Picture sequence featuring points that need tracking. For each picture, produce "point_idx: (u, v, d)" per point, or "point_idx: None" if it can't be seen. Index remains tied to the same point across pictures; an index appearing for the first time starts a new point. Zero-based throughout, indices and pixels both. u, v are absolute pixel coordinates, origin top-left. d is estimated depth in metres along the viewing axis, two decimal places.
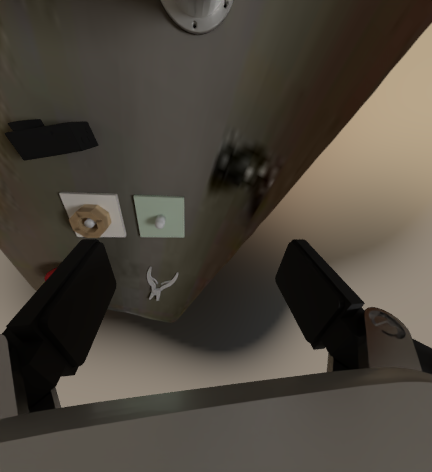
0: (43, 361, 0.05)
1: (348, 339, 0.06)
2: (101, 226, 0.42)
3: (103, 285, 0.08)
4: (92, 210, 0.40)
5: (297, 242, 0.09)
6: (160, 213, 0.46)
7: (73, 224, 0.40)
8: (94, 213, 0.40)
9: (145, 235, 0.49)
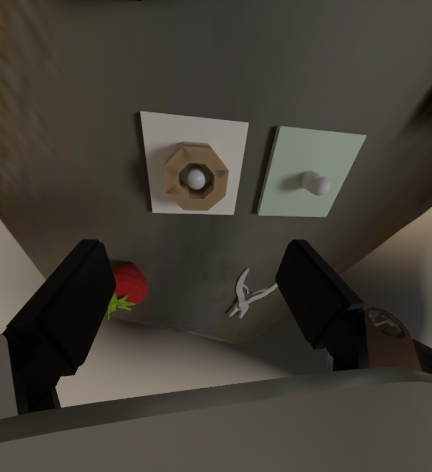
0: (43, 361, 0.05)
1: (348, 339, 0.06)
2: (221, 185, 0.20)
3: (103, 285, 0.08)
4: (211, 147, 0.19)
5: (297, 242, 0.09)
6: (311, 167, 0.24)
7: (168, 178, 0.19)
8: (216, 154, 0.19)
9: (267, 212, 0.28)
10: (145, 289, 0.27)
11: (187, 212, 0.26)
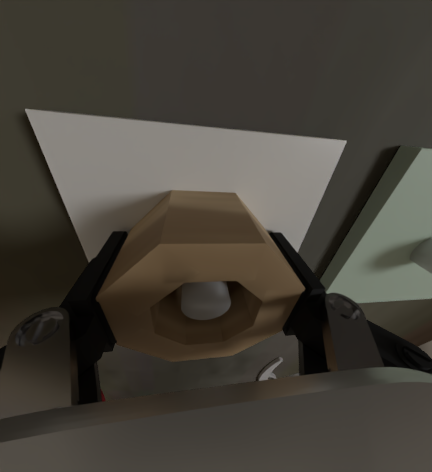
0: (94, 333, 0.06)
1: (310, 322, 0.06)
2: (276, 316, 0.07)
3: None
4: (255, 224, 0.06)
5: (273, 234, 0.09)
6: None
7: (121, 319, 0.06)
8: (274, 249, 0.06)
9: None
10: None
11: None
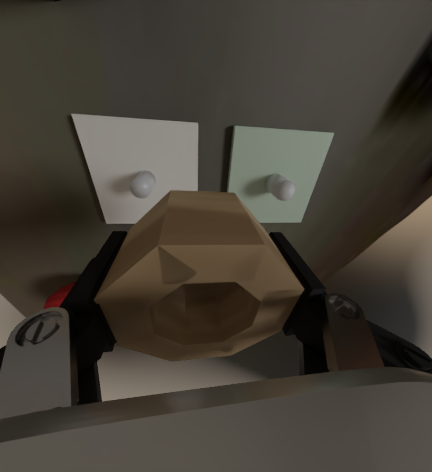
0: (93, 333, 0.06)
1: (311, 322, 0.06)
2: (274, 316, 0.07)
3: None
4: (254, 225, 0.06)
5: (273, 234, 0.09)
6: (276, 170, 0.22)
7: (120, 320, 0.06)
8: (272, 250, 0.06)
9: None
10: None
11: None
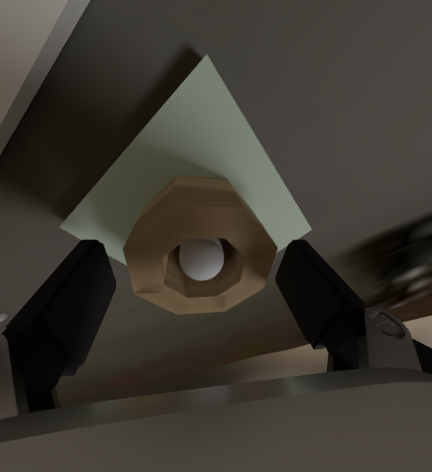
0: (43, 361, 0.05)
1: (348, 339, 0.06)
2: (257, 273, 0.09)
3: (103, 285, 0.08)
4: (239, 198, 0.08)
5: (297, 242, 0.09)
6: None
7: (139, 269, 0.08)
8: (252, 215, 0.08)
9: (86, 235, 0.11)
10: None
11: None
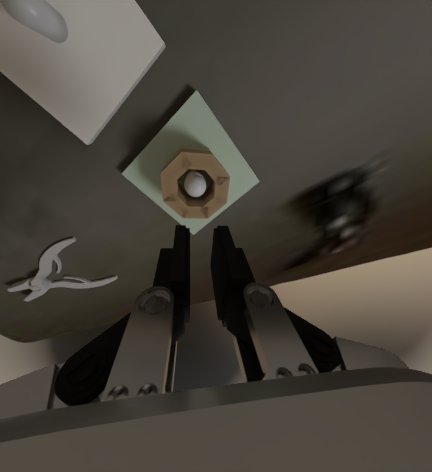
0: (184, 310, 0.06)
1: (232, 312, 0.06)
2: (222, 192, 0.19)
3: None
4: (211, 153, 0.18)
5: (218, 228, 0.09)
6: None
7: (166, 185, 0.18)
8: (217, 160, 0.18)
9: (134, 179, 0.21)
10: None
11: (5, 73, 0.15)
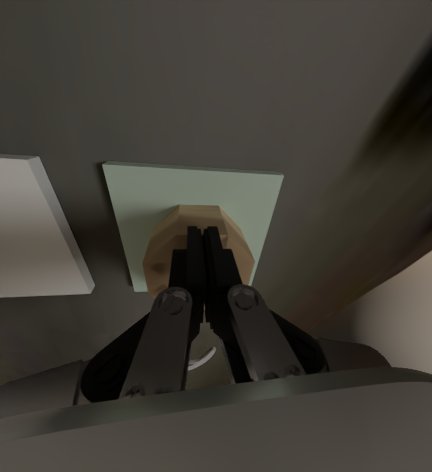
0: None
1: (217, 314, 0.06)
2: (236, 256, 0.11)
3: None
4: (179, 224, 0.11)
5: (208, 228, 0.09)
6: None
7: None
8: None
9: None
10: None
11: (3, 296, 0.16)
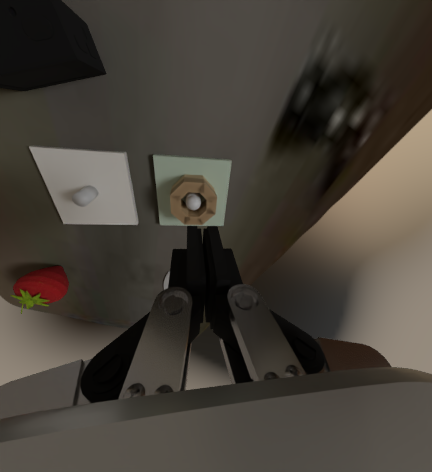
0: None
1: (217, 314, 0.06)
2: (208, 194, 0.26)
3: None
4: (184, 179, 0.26)
5: (208, 228, 0.09)
6: None
7: (178, 216, 0.28)
8: (189, 181, 0.25)
9: (167, 222, 0.33)
10: (62, 288, 0.32)
11: (94, 223, 0.31)
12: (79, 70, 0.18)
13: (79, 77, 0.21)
